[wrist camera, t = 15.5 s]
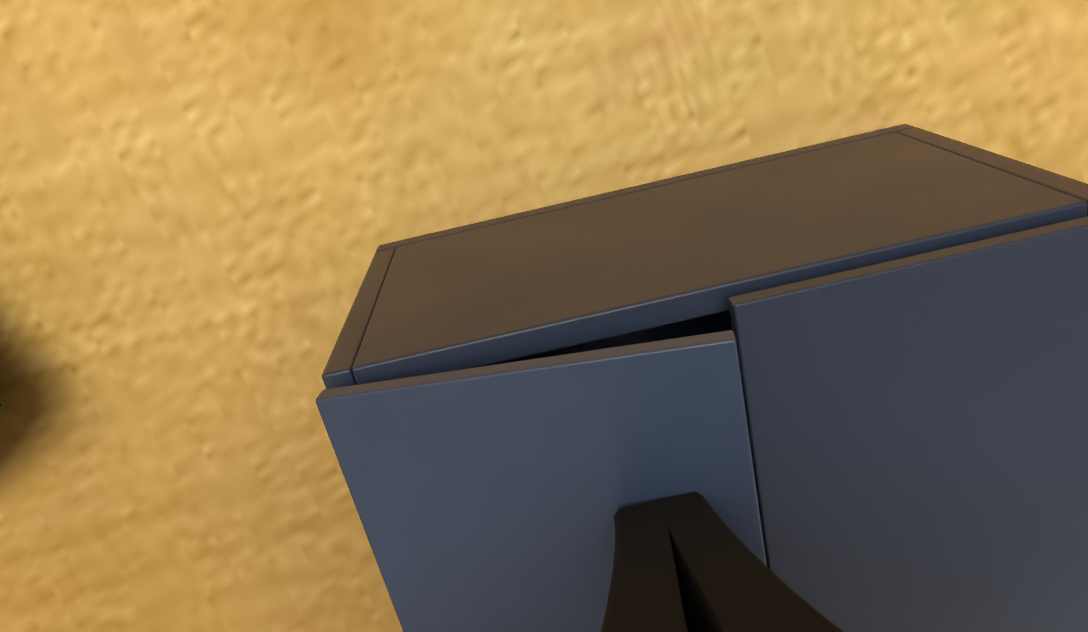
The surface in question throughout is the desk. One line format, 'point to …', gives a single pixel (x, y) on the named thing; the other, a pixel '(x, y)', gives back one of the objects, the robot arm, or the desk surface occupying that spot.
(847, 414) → the carton
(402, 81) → the desk surface
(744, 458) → the carton flap
